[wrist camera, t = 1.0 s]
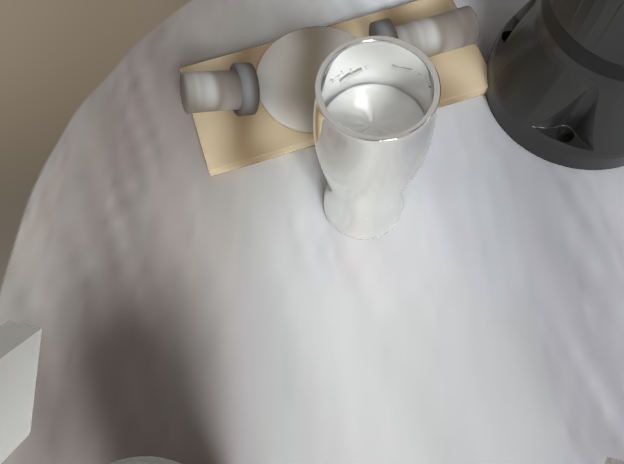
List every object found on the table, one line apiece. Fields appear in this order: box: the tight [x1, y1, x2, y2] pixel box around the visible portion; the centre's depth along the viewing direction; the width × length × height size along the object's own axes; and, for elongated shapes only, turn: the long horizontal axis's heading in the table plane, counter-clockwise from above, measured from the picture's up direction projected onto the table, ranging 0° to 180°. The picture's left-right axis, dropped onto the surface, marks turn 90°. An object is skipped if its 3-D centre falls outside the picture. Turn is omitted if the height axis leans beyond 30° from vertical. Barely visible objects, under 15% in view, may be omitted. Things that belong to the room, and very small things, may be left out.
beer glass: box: [313, 36, 441, 240], centre depth 37 cm, size 7×7×15 cm
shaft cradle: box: [179, 0, 488, 176], centre depth 45 cm, size 24×10×6 cm, turn 108°
